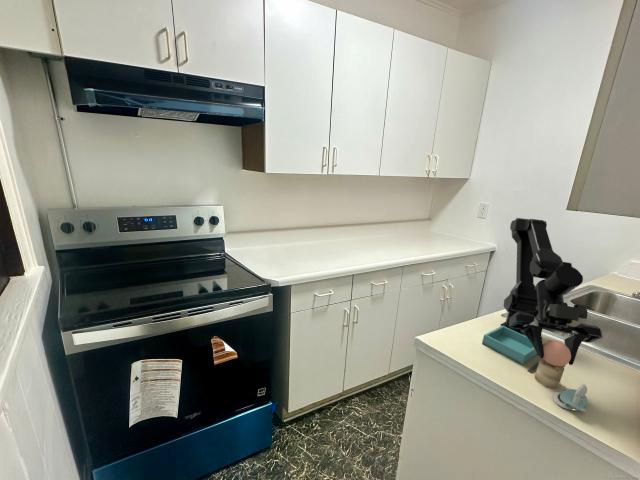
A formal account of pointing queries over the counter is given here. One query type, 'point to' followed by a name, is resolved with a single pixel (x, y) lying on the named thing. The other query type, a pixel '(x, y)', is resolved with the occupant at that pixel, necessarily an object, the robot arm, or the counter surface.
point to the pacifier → (572, 398)
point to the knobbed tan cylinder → (549, 374)
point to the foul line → (533, 368)
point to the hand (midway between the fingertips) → (556, 361)
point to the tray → (510, 344)
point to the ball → (556, 353)
